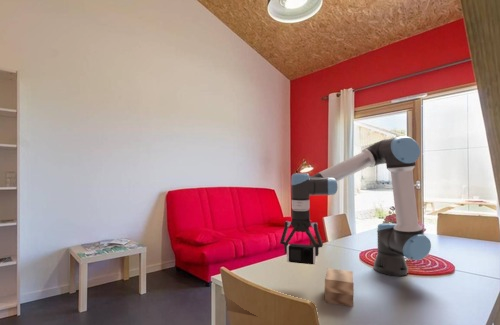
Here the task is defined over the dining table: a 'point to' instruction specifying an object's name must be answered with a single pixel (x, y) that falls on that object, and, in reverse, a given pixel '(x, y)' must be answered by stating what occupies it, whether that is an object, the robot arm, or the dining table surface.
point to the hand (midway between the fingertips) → (301, 262)
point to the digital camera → (301, 253)
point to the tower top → (339, 281)
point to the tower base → (339, 298)
